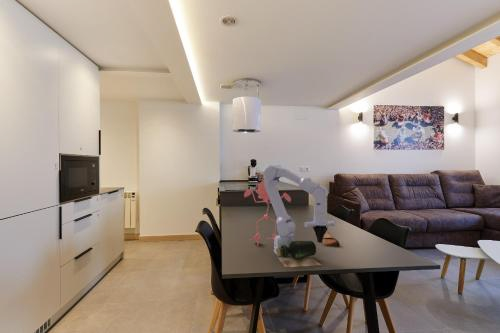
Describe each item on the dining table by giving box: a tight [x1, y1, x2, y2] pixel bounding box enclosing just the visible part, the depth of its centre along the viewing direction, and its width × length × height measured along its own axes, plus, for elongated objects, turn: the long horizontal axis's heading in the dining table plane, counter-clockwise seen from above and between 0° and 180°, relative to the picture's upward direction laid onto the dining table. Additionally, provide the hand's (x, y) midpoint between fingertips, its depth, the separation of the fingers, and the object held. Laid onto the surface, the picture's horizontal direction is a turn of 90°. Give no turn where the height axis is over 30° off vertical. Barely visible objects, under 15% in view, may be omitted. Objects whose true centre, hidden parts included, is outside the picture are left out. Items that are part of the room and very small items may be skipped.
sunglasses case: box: [321, 231, 340, 248], centre depth 149 cm, size 18×7×7 cm
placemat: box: [277, 256, 322, 269], centre depth 119 cm, size 16×11×1 cm
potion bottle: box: [276, 240, 317, 259], centre depth 121 cm, size 8×8×18 cm
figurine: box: [243, 179, 292, 246], centre depth 147 cm, size 15×26×35 cm, turn 84°
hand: (319, 242), depth 120 cm, fingers closed
